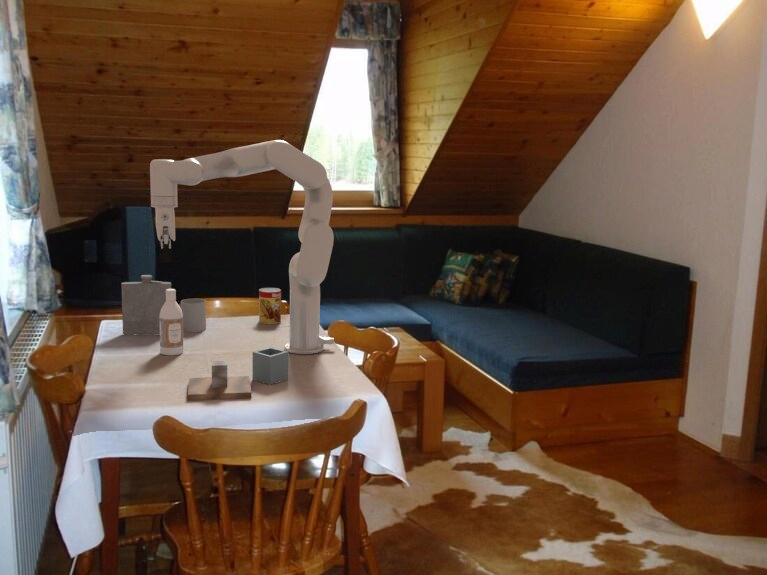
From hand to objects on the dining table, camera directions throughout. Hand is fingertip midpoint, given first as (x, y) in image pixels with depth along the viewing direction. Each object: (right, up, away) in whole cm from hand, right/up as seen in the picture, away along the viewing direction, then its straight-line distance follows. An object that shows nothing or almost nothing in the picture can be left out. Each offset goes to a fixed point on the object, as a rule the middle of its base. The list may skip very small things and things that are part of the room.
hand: (165, 259), depth 228 cm
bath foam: (0, -29, +8) cm, 30 cm away
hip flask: (-15, -24, +30) cm, 42 cm away
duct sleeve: (+33, -34, -14) cm, 50 cm away
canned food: (+23, -21, +53) cm, 62 cm away
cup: (-1, -23, +38) cm, 45 cm away
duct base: (+21, -36, -25) cm, 49 cm away
